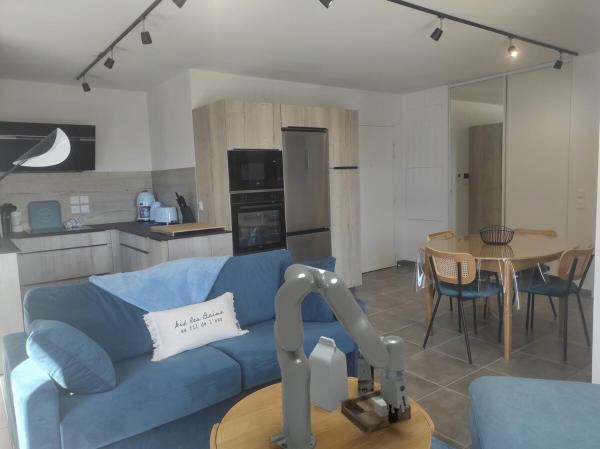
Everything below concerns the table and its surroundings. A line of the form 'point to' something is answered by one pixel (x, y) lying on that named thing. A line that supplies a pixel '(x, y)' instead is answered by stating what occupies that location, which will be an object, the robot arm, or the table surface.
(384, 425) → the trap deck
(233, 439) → the table surface
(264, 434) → the table surface
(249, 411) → the table surface
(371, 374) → the coffee box
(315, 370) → the milk
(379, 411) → the block
